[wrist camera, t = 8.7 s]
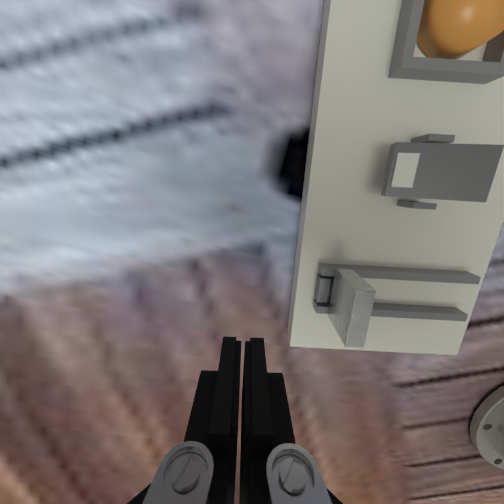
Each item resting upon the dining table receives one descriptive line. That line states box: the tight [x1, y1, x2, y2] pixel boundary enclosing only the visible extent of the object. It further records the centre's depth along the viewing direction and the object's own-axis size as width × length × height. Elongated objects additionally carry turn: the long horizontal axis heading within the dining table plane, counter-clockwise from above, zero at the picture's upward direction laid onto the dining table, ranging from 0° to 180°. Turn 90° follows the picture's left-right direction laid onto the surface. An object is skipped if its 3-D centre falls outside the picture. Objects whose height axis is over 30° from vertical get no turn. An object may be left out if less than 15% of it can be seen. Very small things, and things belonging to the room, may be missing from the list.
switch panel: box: [287, 0, 504, 355], centre depth 17 cm, size 15×30×4 cm, turn 177°
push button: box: [417, 0, 504, 60], centre depth 14 cm, size 4×4×2 cm
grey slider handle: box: [314, 268, 376, 348], centre depth 17 cm, size 3×4×5 cm
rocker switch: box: [381, 142, 504, 202], centre depth 15 cm, size 6×3×2 cm, turn 87°
